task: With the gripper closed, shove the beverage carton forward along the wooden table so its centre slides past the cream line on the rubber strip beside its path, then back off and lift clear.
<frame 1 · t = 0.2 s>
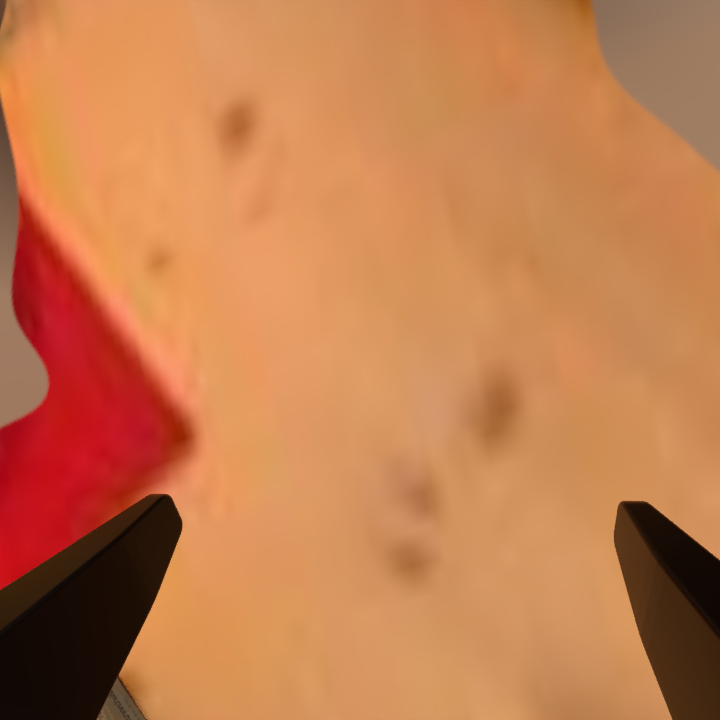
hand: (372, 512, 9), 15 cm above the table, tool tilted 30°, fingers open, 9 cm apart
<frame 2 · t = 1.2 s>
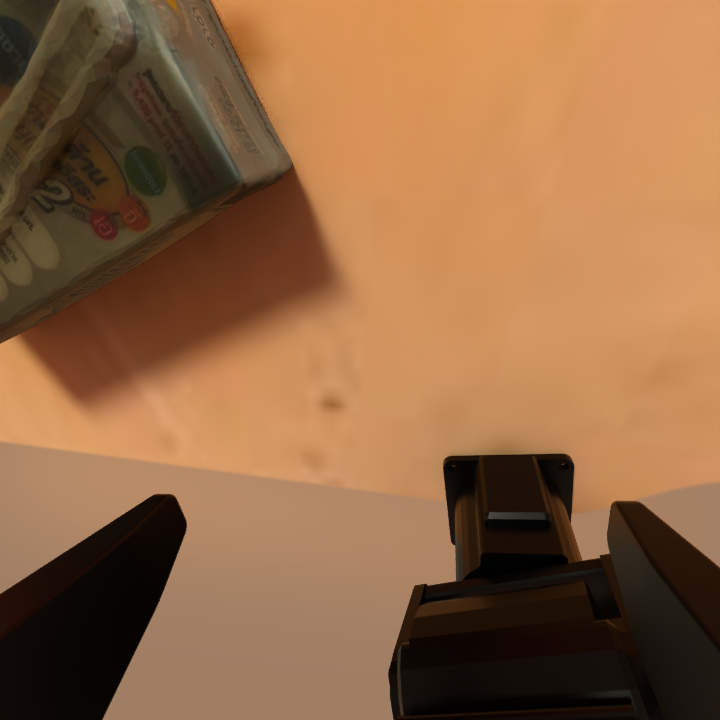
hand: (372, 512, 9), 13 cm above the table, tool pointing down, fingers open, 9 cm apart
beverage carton: (99, 187, 21), on the table
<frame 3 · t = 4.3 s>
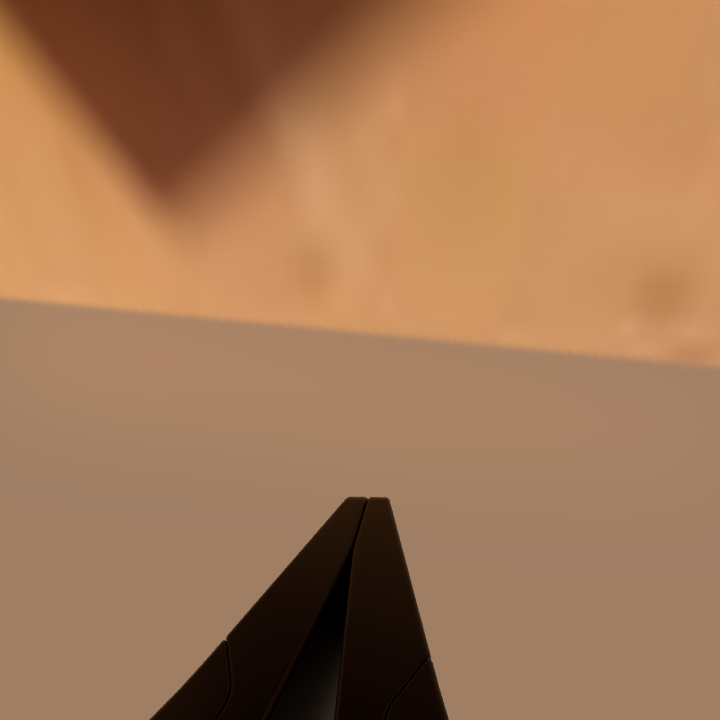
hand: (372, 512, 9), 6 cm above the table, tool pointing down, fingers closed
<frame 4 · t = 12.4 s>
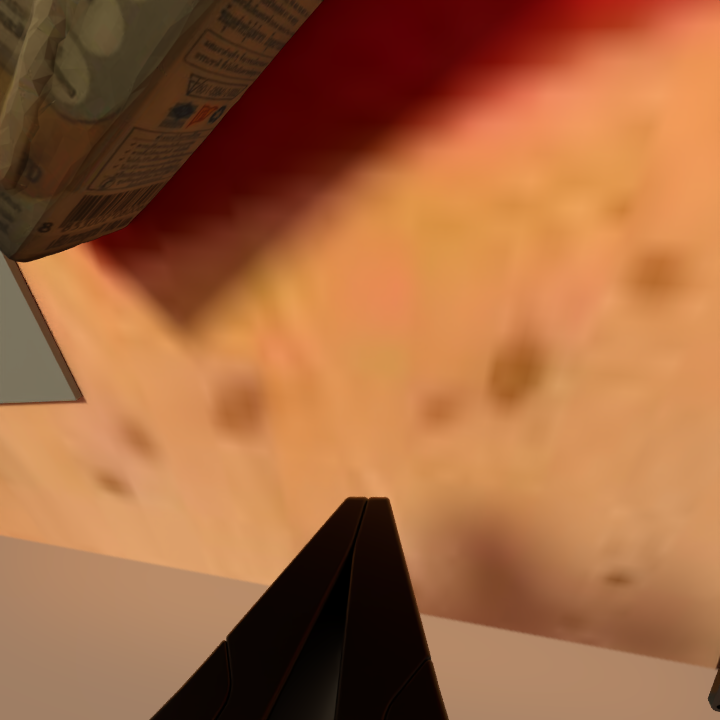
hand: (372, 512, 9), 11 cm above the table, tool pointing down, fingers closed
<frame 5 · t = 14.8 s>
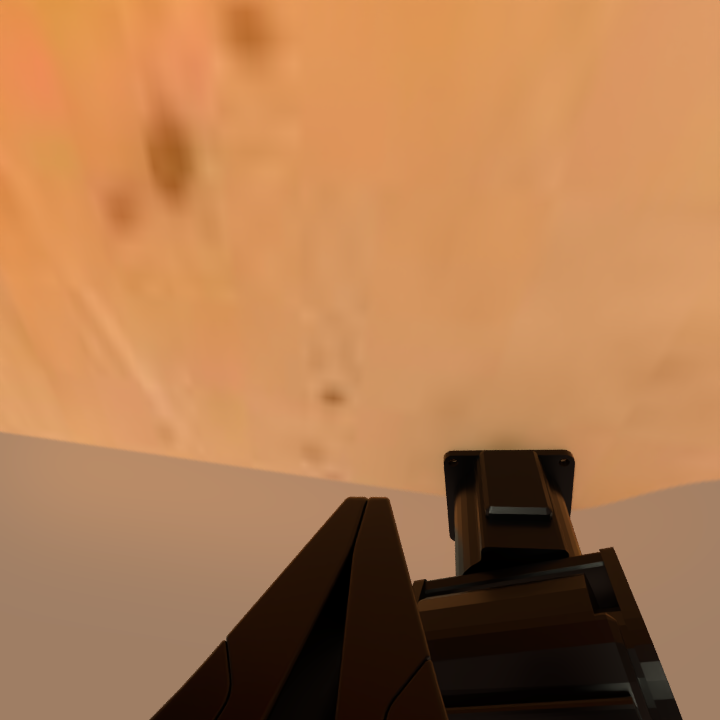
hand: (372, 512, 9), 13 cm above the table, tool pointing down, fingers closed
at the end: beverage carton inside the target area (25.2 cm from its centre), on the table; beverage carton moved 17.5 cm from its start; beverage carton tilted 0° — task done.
